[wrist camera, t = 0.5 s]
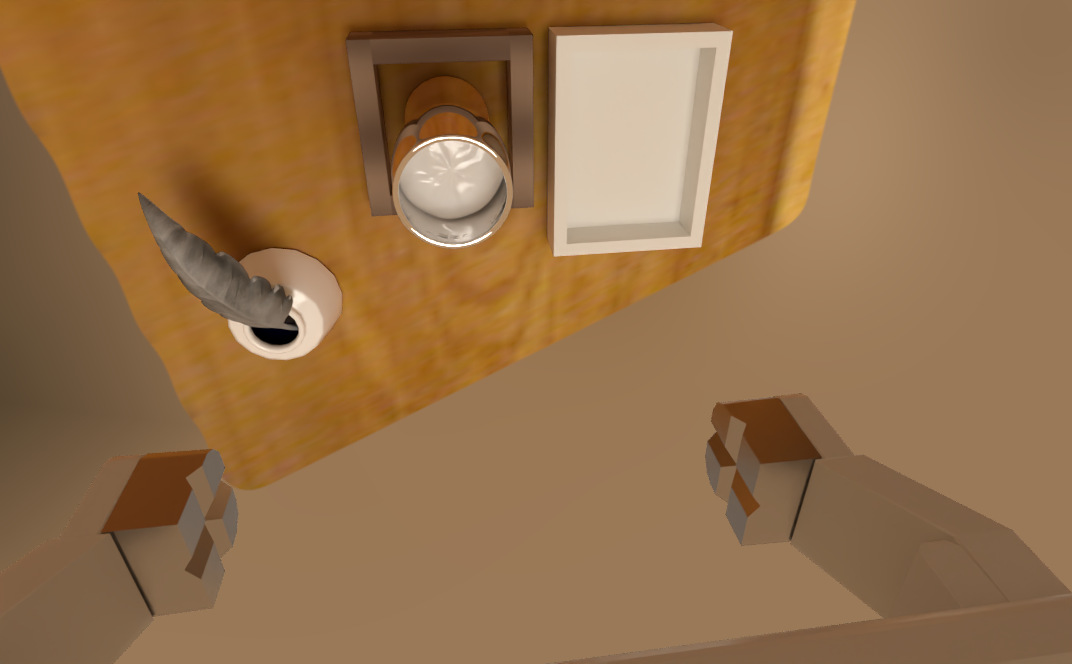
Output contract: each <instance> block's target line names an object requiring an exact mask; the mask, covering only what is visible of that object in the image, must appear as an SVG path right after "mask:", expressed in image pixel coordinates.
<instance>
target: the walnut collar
mask: <svg viewBox="0 0 1072 664" xmlns="http://www.w3.org/2000/svg"><path fill="white" fill-rule="evenodd" d="M346 47H347V54H348V60H349V67H350V74H351V80H352V87H353V94H354V100H355V107H356V114H357V120H358V127H359V134H360V141H361V147H362V154H363V161H364V167H365V174H366V181H367V187H368V194H369V201H370V208H371V214H372V216H385V215H398V214H397V212H396V209H395V206H394V202H393V196H392V178H391V170H390V163H389V155H388V147H387V139H386V131H385V123H384V115H383V108H382V100H381V92H380V84H379V76H378V68H377V64H402V63H435V62H467V61H499V60H506V64H507V103H508V142H509V163H510V169H511V180H512V186H513V199H512V205H511V208H528V207H534V170H533V35H532V33H531V32H530V31H529V29H528V28H496V29H457V30H417V31H378V32H350V33H349V35H348V37H347V38H346Z"/></svg>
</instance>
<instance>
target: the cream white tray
mask: <svg viewBox="0 0 1072 664" xmlns="http://www.w3.org/2000/svg"><path fill="white" fill-rule="evenodd" d="M732 34H733V31H732V30H729V29H727V28H725V27H722V26H720V25H718V24H716V23H692V24H653V25H614V26H575V27H549V32H548V174H547V239H548V242H549V244H550V247H551V250H552V253H553V256H569V255H584V254H600V253H615V252H631V251H646V250H661V249H677V248H692V247H701V244H702V237H703V230H704V223H705V217H706V210H707V203H708V196H709V190H710V183H711V176H712V169H713V163H714V156H715V149H716V142H717V136H718V129H719V122H720V115H721V109H722V102H723V95H724V88H725V82H726V75H727V68H728V61H729V55H730V48H731V41H732Z"/></svg>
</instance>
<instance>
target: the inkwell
mask: <svg viewBox="0 0 1072 664" xmlns="http://www.w3.org/2000/svg"><path fill="white" fill-rule="evenodd" d="M138 196H139V200H140V204H141V207H142V210H143V212H144V215H145V217H146V220H147V222H148V225H149V227H150V229H151V232H152V234H153V236H154V238H155V240H156V242H157V244H158V246H159V247H160V250H161V252H162V254H163V256H164V258H165V260H166V261H167V263H168V264H169V266H170V267H171V269H172V270H173V271H174V272H175V273H176V274H177V275H178V277H179V279H180V280H181V282H182V283H183V285H184V286H185V287H186V288H187V290H189V291H190V292H191V293H192V294H193V295H194V296H196V297H197V298H199V299H200V300H202V301H201V302H202V303H203V305H204V306H205V307H207V308H208V309H210V310H211V311H214V312H216V313H219V314H220V315H221V316H222V317H224V318H226V319H228V327H229V329H230V330H231V332H232V334H233V335H234V337H235V339H236V341H237V342H238V343H240V344H241V345H242V346H244V347H245V348H246V349H247V350H249V351H250V352H251V353H254V354H257V355H259V356H262V357H264V358H267V359H276V360H290V359H294V358H298V357H302V356H305V355H306V354H307V353H309V352H310V351H311V350H313V349H314V348H315V347H317V346H318V345H319V344H320V343H321V342H322V341H323V339H324V338H325V337H326V336H327V335H328V334H329V332H330V331H331V330H332V329H333V327H334V326H335V324H336V322H337V320H338V319H339V317H340V315H341V313H342V292H341V290H340V288H339V285H338V283H337V281H336V279H335V276H334V275H333V274H332V273H331V272H330V271H329V270H328V269H327V268H326V267H325V266H324V265H322V264H321V263H320V262H319V261H318V260H317V259H314V258H312V257H310V256H308V255H306V254H303V253H301V252H299V251H297V250H289V249H278V248H270V249H266V250H262V251H258V252H254V253H250V254H248V255H247V256H246V257H245V258H243V259H242V260H241V261H240V262H238V261H237V260H236V259H234V258H233V257H231V256H230V255H228V254H227V253H224V252H219V253H215V251H214V250H213V249H212V247H211V246H210V245H209V244H208V243H207V242H205V241H203V240H202V239H200V238H199V237H197V236H195V235H194V234H191V233H189V232H186V231H185V230H184V229H183V227H182V226H181V225H180V224H178V223H177V222H175V221H174V220H173V219H171V218H170V217H169V216H167V215H166V214H165V213H164V212H163V211H161V210H160V209H159V208H158V207H157V206H156V205H155V204H153V203H152V202H151V201H150V200H149V199H147V198H146V197H145V196H144V195H142V194H141V193H138Z"/></svg>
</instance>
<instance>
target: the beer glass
mask: <svg viewBox="0 0 1072 664" xmlns="http://www.w3.org/2000/svg"><path fill="white" fill-rule="evenodd" d="M404 121H405V125H404V126H403V128H402V130H401V131H400V133H399V135H398V137H397V140H396V143H395V146H394V151H393V155H392V165H391V178H392V196H393V202H394V206H395V209H396V212H397V214H398V216H399V218H400V220H401V221H402V223H403V224H404V225H405V227H406V228H407V229H408V230H409V231H410V232H411V233H412V234H413V235H415V236H416V237H417V238H419V239H420V240H422V241H424V242H426V243H428V244H431V245H433V246H437V247H441V248H448V249H459V248H466V247H470V246H474V245H476V244H479V243H481V242H483V241H485V240H486V239H488V238H489V237H491V236H492V235H493V234H494V233H495V232H496V231H497V230H498V229H499V228H500V227H501V226H502V224H503V223H504V221H505V220H506V218H507V216H508V214H509V211H510V208H511V205H512V199H513V186H512V180H511V169H510V163H509V158H508V154H507V151H506V148H505V145H504V143H503V141H502V138H501V136H500V134H499V133H498V131H497V129H496V128H495V127H494V126H493V124H492V123H491V122H490V121H489V120H488V111H487V107H486V104H485V102H484V100H483V98H482V96H481V95H480V94H479V92H478V91H477V90H476V89H475V88H474V87H473V86H472V85H470V84H469V83H467V82H466V81H464V80H462V79H459V78H456V77H451V76H439V77H434V78H431V79H429V80H426V81H425V82H423V83H421V84H420V85H419V86H418V87H417V88H416V89H415V90H414V91H413V92H412V93H411V95H410V97H409V99H408V101H407V103H406V107H405V113H404Z"/></svg>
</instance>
